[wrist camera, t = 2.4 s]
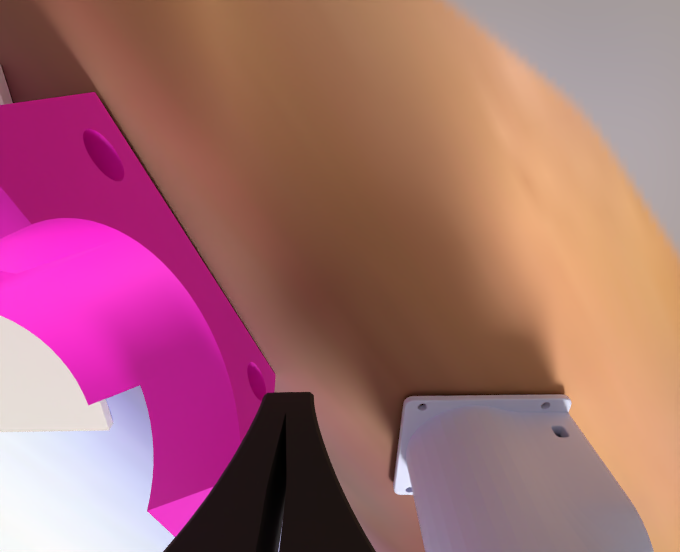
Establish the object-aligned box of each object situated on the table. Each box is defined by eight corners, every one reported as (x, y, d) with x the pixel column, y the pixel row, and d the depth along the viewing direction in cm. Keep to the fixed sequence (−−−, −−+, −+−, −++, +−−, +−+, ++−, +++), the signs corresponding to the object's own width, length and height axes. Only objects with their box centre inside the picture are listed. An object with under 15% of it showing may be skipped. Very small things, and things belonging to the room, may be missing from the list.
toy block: (-47, 159, 16) (-294, 228, 9) (94, 91, 15) (-60, 113, 9) (172, 414, 23) (121, 560, 16) (275, 374, 22) (266, 508, 15)
